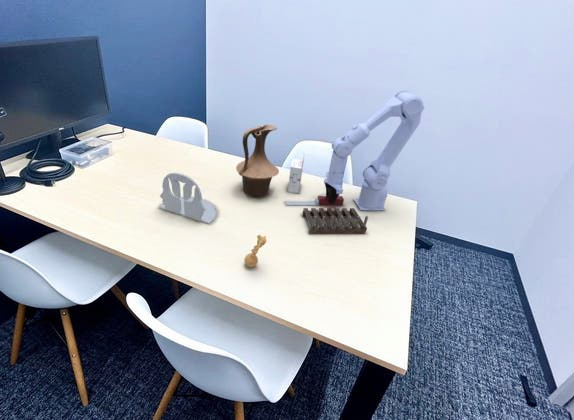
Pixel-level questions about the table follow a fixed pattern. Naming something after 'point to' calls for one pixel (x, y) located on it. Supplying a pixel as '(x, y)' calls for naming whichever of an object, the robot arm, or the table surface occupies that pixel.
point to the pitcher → (257, 164)
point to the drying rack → (335, 221)
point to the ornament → (186, 199)
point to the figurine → (255, 252)
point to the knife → (319, 202)
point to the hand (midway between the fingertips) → (330, 201)
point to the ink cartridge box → (295, 175)
